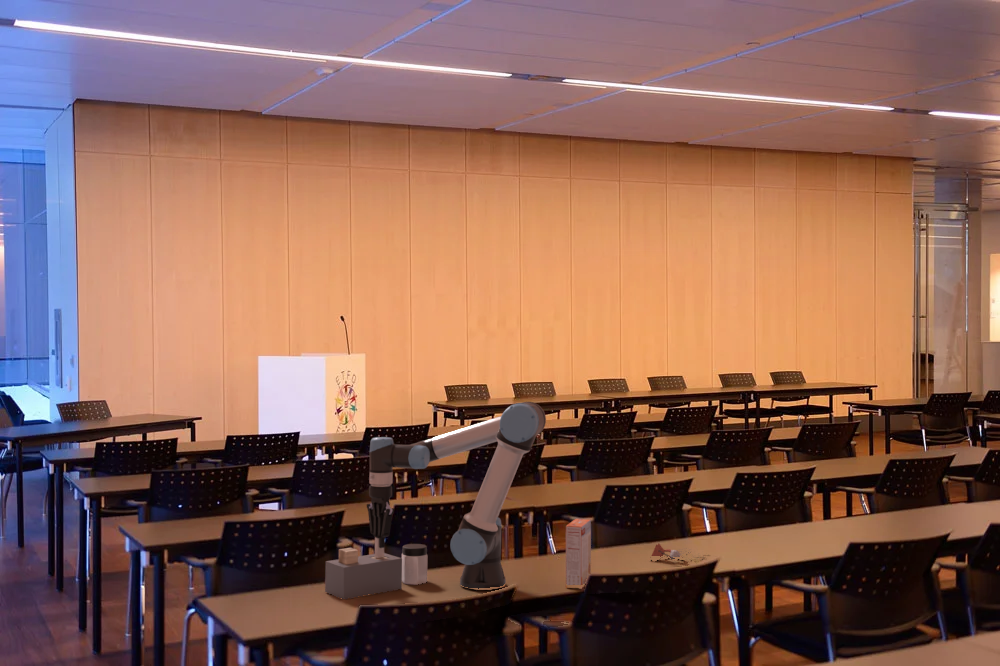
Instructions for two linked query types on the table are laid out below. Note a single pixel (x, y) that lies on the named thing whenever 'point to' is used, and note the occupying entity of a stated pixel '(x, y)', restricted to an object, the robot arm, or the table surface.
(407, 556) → the jar
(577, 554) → the cracker box
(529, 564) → the table surface
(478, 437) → the robot arm
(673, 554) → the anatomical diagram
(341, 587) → the peg block
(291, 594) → the table surface
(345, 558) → the tan wooden block
